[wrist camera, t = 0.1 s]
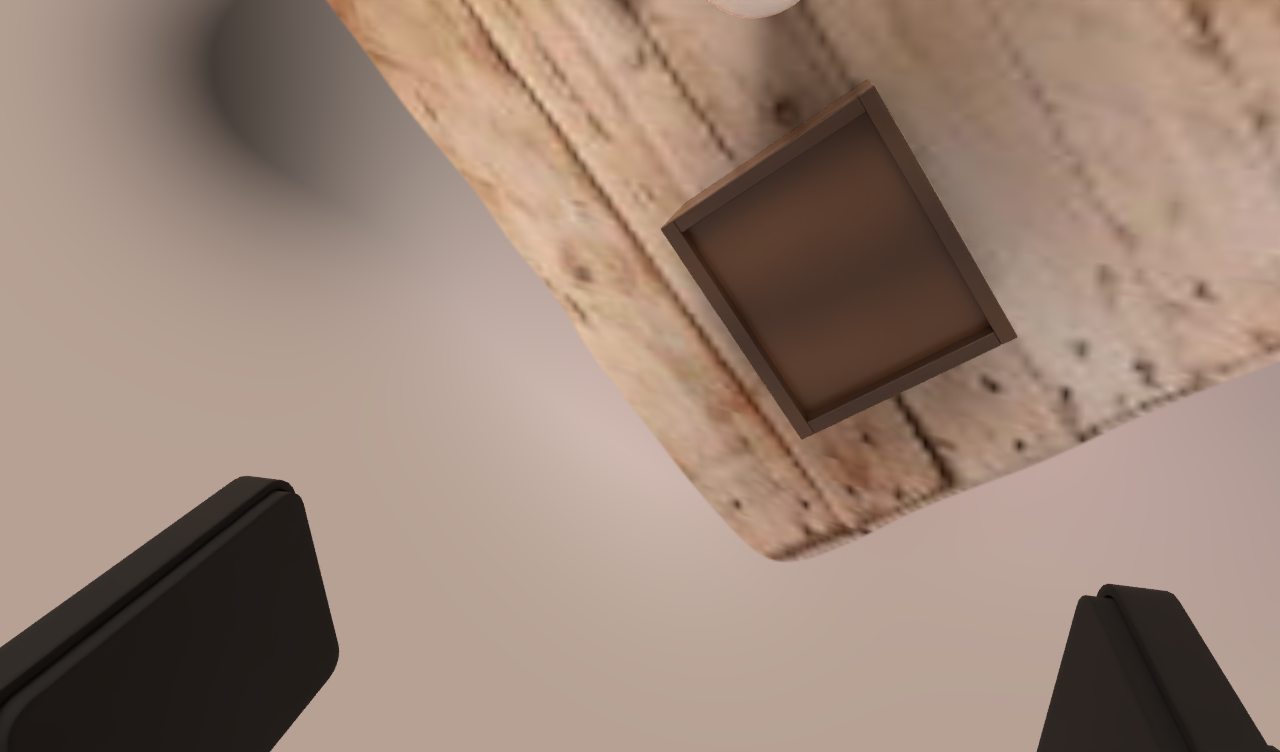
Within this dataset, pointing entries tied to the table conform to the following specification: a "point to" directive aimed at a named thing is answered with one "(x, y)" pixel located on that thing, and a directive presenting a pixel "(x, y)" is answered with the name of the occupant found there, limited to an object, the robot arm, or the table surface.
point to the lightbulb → (753, 7)
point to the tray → (838, 266)
